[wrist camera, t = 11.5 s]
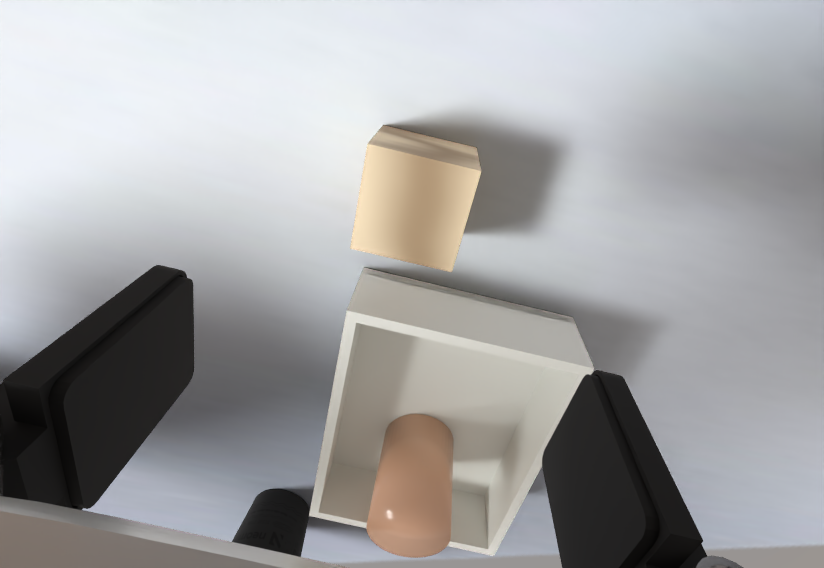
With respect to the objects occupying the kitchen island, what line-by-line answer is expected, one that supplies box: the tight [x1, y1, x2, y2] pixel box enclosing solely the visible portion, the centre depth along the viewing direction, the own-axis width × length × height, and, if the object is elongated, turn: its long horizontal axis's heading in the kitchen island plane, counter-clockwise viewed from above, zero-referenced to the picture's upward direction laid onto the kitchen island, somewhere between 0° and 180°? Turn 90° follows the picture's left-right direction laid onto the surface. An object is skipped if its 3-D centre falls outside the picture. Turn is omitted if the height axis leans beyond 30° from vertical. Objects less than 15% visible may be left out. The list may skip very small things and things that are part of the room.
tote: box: [309, 268, 595, 556], centre depth 30 cm, size 13×17×5 cm
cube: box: [350, 125, 481, 272], centre depth 23 cm, size 5×5×5 cm
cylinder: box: [366, 414, 454, 558], centre depth 30 cm, size 5×5×7 cm
